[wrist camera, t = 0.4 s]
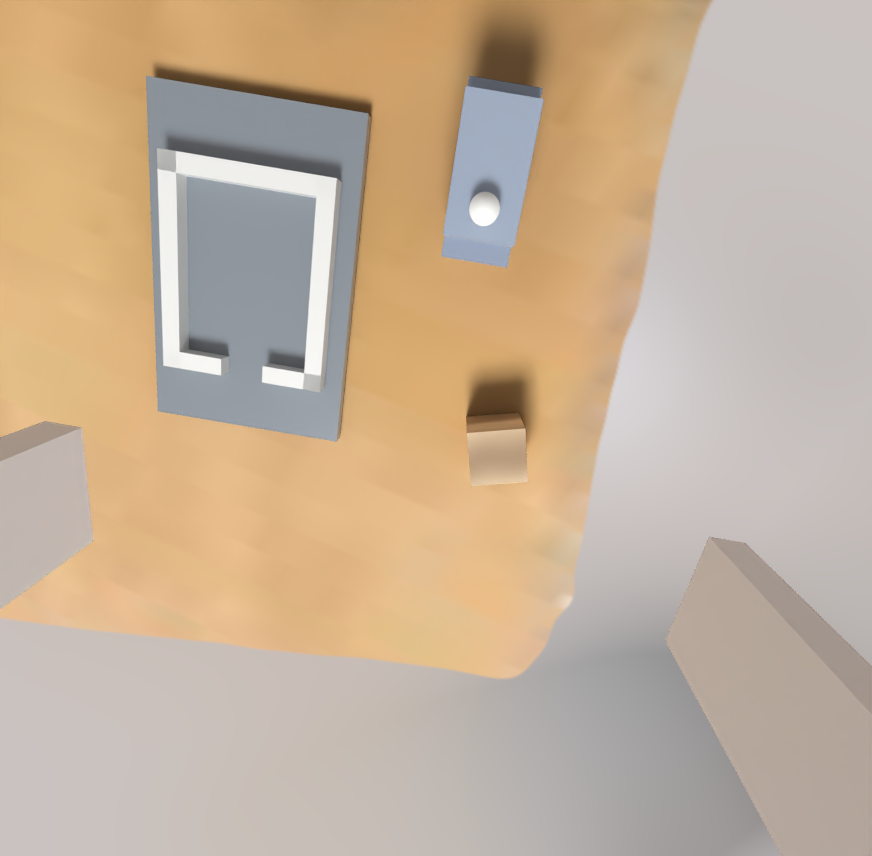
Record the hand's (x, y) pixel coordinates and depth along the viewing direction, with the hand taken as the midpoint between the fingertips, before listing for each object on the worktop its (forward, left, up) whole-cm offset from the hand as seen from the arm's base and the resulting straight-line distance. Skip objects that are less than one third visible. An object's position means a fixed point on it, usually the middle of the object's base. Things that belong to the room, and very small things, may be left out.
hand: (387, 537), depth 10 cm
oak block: (+6, +5, -26) cm, 27 cm away
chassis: (-3, -14, -25) cm, 29 cm away
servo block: (-11, +1, -26) cm, 28 cm away
